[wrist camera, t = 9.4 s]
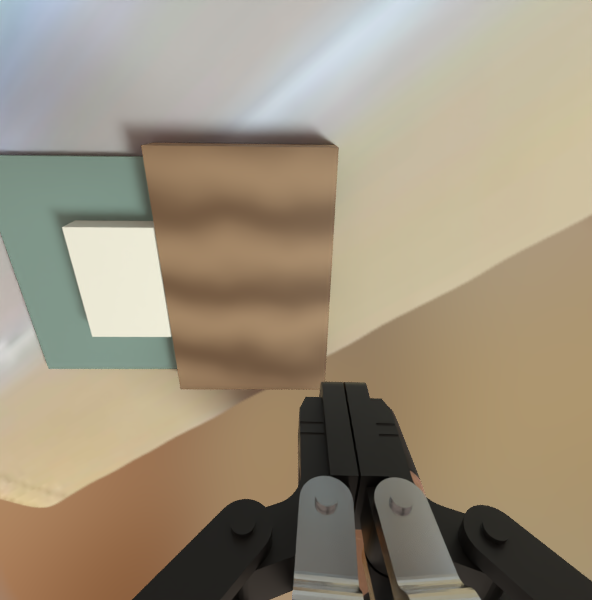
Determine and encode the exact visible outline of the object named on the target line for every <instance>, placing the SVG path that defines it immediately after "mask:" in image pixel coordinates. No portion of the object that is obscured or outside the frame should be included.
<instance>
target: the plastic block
mask: <svg viewBox="0 0 592 600" xmlns="http://www.w3.org/2000/svg"><path fill="white" fill-rule="evenodd" d="M62 229H63V233H64V237H65V240H66V244H67V247H68V251H69V255H70V258H71V262H72V265H73V269H74V273H75V276H76V280H77V283H78V287H79V291H80V294H81V298H82V301H83V305H84V309H85V312H86V316H87V319H88V323H89V327H90V330H91V334H92V337H171V336H172V333H171V326H170V320H169V314H168V308H167V302H166V296H165V290H164V283H163V277H162V271H161V265H160V259H159V253H158V246H157V240H156V234H155V228H154V222H153V221H88V220H75V221H73V222H71V223H69V224H67V225H65V226H63V227H62Z"/></svg>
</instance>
